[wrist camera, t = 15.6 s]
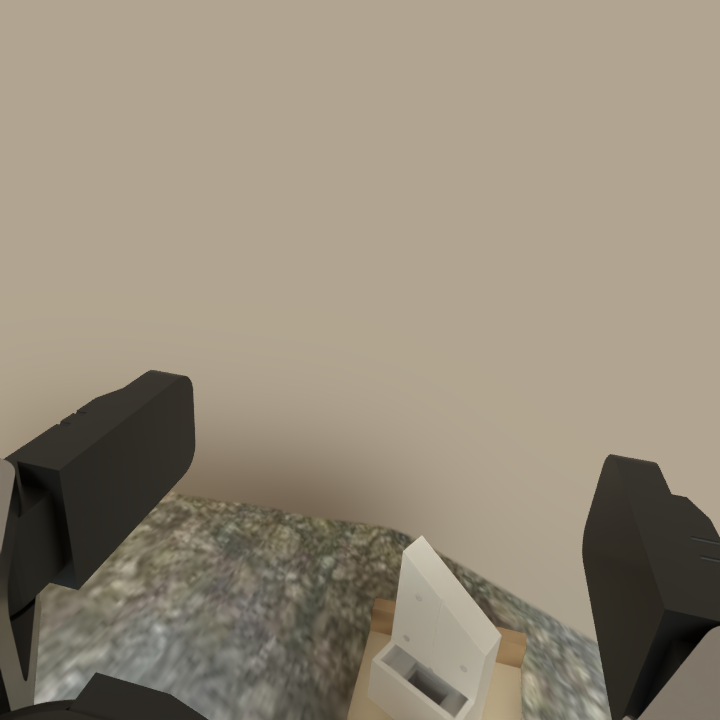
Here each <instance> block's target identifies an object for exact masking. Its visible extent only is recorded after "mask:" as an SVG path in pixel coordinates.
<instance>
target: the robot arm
mask: <svg viewBox="0 0 720 720" xmlns="http://www.w3.org/2000/svg"><path fill="white" fill-rule="evenodd" d="M194 452H195V424H194V402H193V387H192V382H191V380H190V379H189V378H188V377H187V376H183V375H177V374H171V373H166V372H161V371H155V370H150V371H148V372H146V373H145V374H143V375H142V376H140V377H139V378H137V379H136V380H134V381H133V382H131V383H130V384H129V385H127V386H126V387H124V388H123V389H120V390H117V391H114V392H111V393H109V394H106V395H103V396H100V397H97V398H95V399H94V400H92V401H91V402H89V403H88V404H86V405H85V406H83V407H82V408H80V409H79V410H77V413H76V414H74V413H73V414H71V415H70V416H68V417H66V418H65V419H63V420H62V421H61V423H60V425H58V424H56V425H54V426H53V427H51V428H50V429H48V430H47V431H45V432H44V433H42V434H41V435H39V436H38V437H36V438H35V439H33V440H32V441H31V442H29V443H27V444H26V445H25V446H23V447H21V448H20V449H18V450H17V451H15V452H14V453H12V454H11V455H9V456H8V457H6V458H5V459H0V720H208V719H207V718H205V717H204V716H202V715H201V714H199V713H198V712H196V711H195V710H193V709H192V708H190V707H189V706H187V705H186V704H184V703H183V702H181V701H180V700H178V699H177V698H175V697H174V696H172V695H171V694H167V693H164V692H161V691H157V690H154V689H150V688H147V687H144V686H140V685H137V684H134V683H130V682H127V681H123V680H120V679H117V678H113V677H110V676H106V675H103V674H100V673H95V674H94V676H93V677H92V678H91V680H90V681H89V682H88V684H87V685H86V686H85V688H84V689H83V690H82V692H81V693H80V694H79V696H78V697H77V698H76V700H62V701H52V702H45V703H41V704H36V705H34V693H35V681H36V669H37V657H38V645H39V632H40V620H41V599H40V594H39V593H40V592H41V591H42V590H43V589H44V588H45V587H46V586H47V585H48V584H49V583H54V584H57V585H61V586H65V587H69V588H72V589H76V590H79V589H80V588H81V586H82V585H83V584H84V583H85V582H86V581H87V580H88V579H89V578H90V577H91V576H92V575H93V573H94V572H95V571H96V570H97V569H98V568H99V567H100V566H101V565H102V564H103V563H104V561H105V560H106V559H107V558H108V557H109V556H110V555H111V554H112V553H113V552H114V551H115V550H116V548H117V547H118V546H119V545H120V544H121V543H122V542H123V541H124V540H125V539H126V538H127V536H128V535H129V534H130V533H131V532H132V531H133V530H134V529H135V528H136V527H137V526H138V525H139V523H140V522H141V521H142V520H143V519H144V518H145V517H146V516H147V515H148V514H149V513H150V511H151V510H152V509H153V508H154V507H155V506H156V505H157V504H158V503H159V502H160V501H161V500H162V498H163V497H164V496H165V495H166V494H167V493H168V492H169V491H170V490H171V488H173V486H174V485H175V484H176V483H177V482H178V481H179V480H180V479H181V478H182V477H183V475H184V474H185V473H186V472H187V470H188V469H189V467H190V465H191V462H192V459H193V456H194ZM582 547H583V548H582V555H583V563H584V569H585V575H586V580H587V586H588V591H589V597H590V602H591V608H592V613H593V619H594V624H595V629H596V635H597V641H598V646H599V651H600V657H601V662H602V668H603V673H604V679H605V684H606V690H607V695H608V701H609V706H610V712H611V717H612V720H720V537H719V535H718V533H717V531H716V529H715V527H714V526H713V524H712V522H711V520H710V519H709V518H708V517H707V516H706V515H705V514H704V513H703V512H702V511H701V510H700V509H698V507H696V506H695V505H694V504H693V503H692V502H691V501H690V500H689V499H688V498H687V497H682V496H678V495H672V494H671V492H670V490H669V488H668V485H667V483H666V481H665V479H664V477H663V475H662V472H661V470H660V468H659V466H658V464H657V463H655V462H650V461H644V460H639V459H634V458H628V457H622V456H617V455H611V454H610V455H609V456H608V457H607V458H606V460H605V462H604V465H603V468H602V471H601V474H600V478H599V481H598V484H597V488H596V491H595V494H594V498H593V501H592V505H591V508H590V512H589V515H588V518H587V521H586V525H585V530H584V536H583V546H582Z"/></svg>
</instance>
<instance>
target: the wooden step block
mask: <svg viewBox="0 0 720 720" xmlns="http://www.w3.org/2000/svg"><path fill="white" fill-rule="evenodd" d="M395 607H396V602H394V601H389V600H385V599H381V598H377V597H376V598H375V602H374V605H373V610H372V618H371V627H370V632H369V636H368V640H367V644H366V648H365V651H364V655H363V659H362V663H361V666H360V670H359V674H358V678H357V681H356V685H355V689H354V693H353V696H352V700H351V704H350V708H349V711H348V715H347V719H346V720H394V719H393V718H392V717H390V716H389V715H388V714H387V713H386V712H385V711H383V710H382V709H381V708H380V707H379V706H378V705H376V704H375V703H374V702H373V701H372V700H370V699H369V698H368V697H367V695H368V687H369V679H370V670H371V662H372V659H373V658H374V657H375V656H376V655H377V654H378V653H379V652H380V651H381V650H382V649H383V648H384V647H385V646H386V645H387V644H388V643H389V642H390V641H391V636H392V629H393V621H394V614H395ZM495 628H496V629H497V630H498V631H499V633H500V634H501V635H502V636H501V640H500V644H499V649H498V653H497V657H496V661H495V665H494V669H493V673H492V677H491V681H490V685H489V689H488V693H487V697H486V701H485V705H484V709H483V713H482V718H481V719H480V720H522V699H521V665H522V661H523V658H524V654H525V650H526V647H527V645H526V634H525V633H521V632H517V631H513V630H509V629H505V628H500V627H496V626H495Z"/></svg>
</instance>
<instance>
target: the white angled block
mask: <svg viewBox="0 0 720 720" xmlns="http://www.w3.org/2000/svg"><path fill="white" fill-rule="evenodd" d="M501 636H502V635H501V634H500V633H499V631H498V630H497V629H496V628H495V626H494V625H493V624H492V622H491V621H490V620H489V619H488V617H487V616H486V615H485V614H484V612H483V611H482V610H481V609H480V607H479V606H478V605H477V604H476V602H475V601H474V600H473V599H472V597H471V596H470V595H469V594H468V592H467V591H466V590H465V589H464V587H463V586H462V585H461V584H460V582H459V581H458V580H457V579H456V577H455V576H454V575H453V574H452V572H451V571H450V570H449V569H448V567H447V566H446V565H445V564H444V562H443V561H442V560H441V558H440V557H439V556H438V555H437V553H436V552H435V551H434V550H433V548H432V547H431V546H430V545H429V543H428V542H427V541H426V540H425V538H424V537H423V536H421V537H419V538H418V539H417V540H416V541H414V542H413V543H412V544H411V545H410V546H409V547H407V548H406V549H405V550H404V551H403V556H402V564H401V571H400V578H399V585H398V593H397V600H396V607H395V614H394V621H393V629H392V636H391V641H390V642H389V643H388V644H387V645H386V646H385V647H384V648H383V649H382V650H381V651H380V652H379V653H378V654H377V655H376V656H375V657H374V658H373V659H372V662H371V670H370V679H369V687H368V695H367V697H368V698H369V699H370V700H372V701H373V702H374V703H375V704H376V705H378V706H379V707H380V708H381V709H382V710H383V711H385V712H386V713H387V714H388V715H389V716H390V717H392V718H393V719H394V720H480V719H481V718H482V713H483V709H484V705H485V701H486V697H487V693H488V689H489V685H490V681H491V677H492V673H493V669H494V665H495V661H496V657H497V653H498V649H499V644H500V640H501Z"/></svg>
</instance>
